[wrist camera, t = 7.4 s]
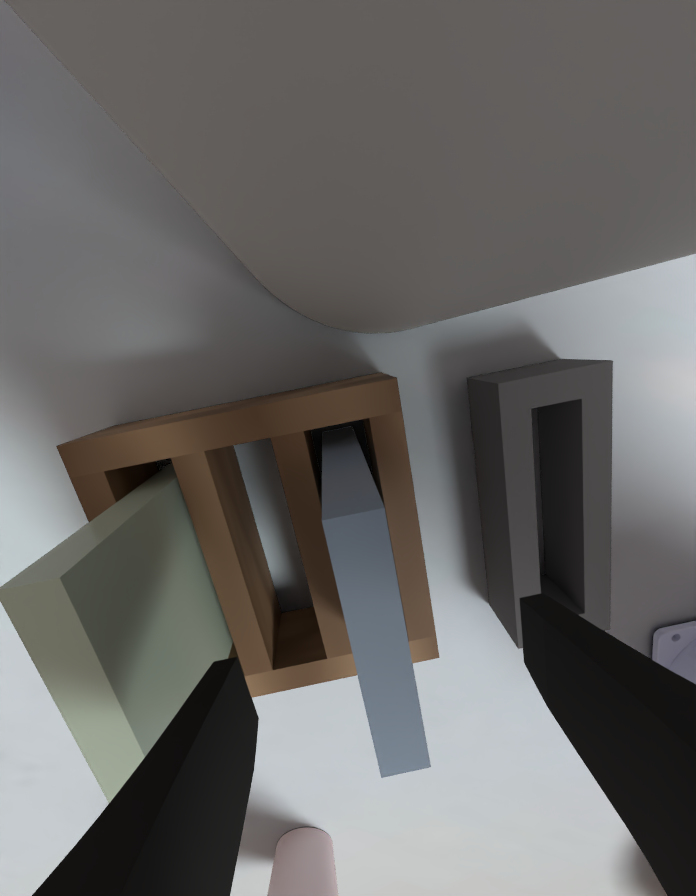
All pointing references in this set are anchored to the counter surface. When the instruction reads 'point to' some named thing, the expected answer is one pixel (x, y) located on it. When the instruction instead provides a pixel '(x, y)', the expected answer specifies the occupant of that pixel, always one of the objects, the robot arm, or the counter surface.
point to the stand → (545, 485)
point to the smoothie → (304, 865)
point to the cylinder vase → (406, 139)
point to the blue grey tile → (371, 603)
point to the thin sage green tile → (122, 625)
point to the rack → (233, 525)
